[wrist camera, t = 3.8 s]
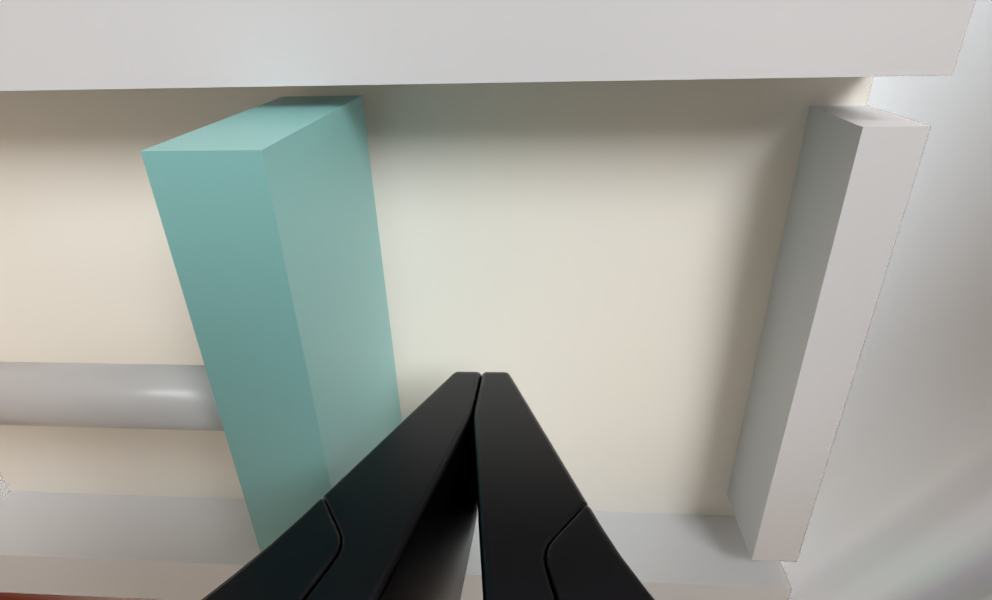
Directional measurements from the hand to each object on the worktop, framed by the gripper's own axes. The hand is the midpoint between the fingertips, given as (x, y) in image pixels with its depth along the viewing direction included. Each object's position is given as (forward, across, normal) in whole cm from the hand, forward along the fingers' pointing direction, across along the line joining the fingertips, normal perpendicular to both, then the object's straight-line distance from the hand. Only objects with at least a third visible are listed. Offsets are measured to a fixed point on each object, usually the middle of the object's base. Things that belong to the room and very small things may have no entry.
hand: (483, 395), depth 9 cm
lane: (+3, +3, 0) cm, 4 cm away
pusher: (+2, +6, 0) cm, 6 cm away
